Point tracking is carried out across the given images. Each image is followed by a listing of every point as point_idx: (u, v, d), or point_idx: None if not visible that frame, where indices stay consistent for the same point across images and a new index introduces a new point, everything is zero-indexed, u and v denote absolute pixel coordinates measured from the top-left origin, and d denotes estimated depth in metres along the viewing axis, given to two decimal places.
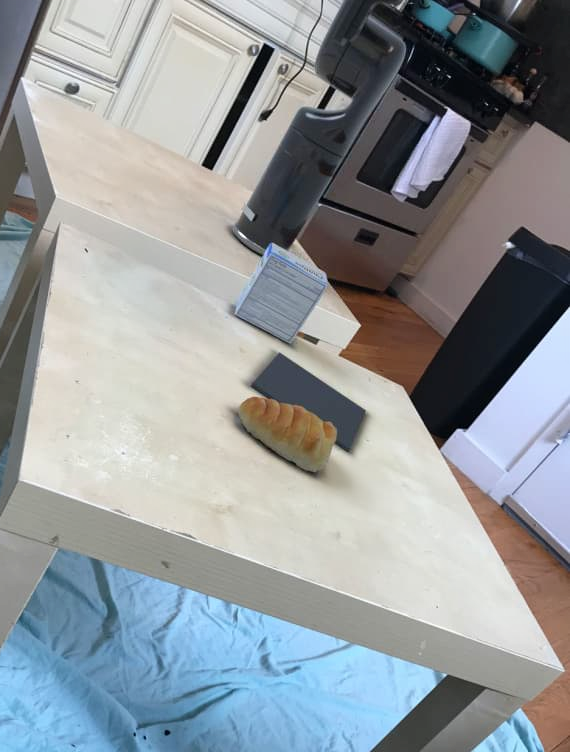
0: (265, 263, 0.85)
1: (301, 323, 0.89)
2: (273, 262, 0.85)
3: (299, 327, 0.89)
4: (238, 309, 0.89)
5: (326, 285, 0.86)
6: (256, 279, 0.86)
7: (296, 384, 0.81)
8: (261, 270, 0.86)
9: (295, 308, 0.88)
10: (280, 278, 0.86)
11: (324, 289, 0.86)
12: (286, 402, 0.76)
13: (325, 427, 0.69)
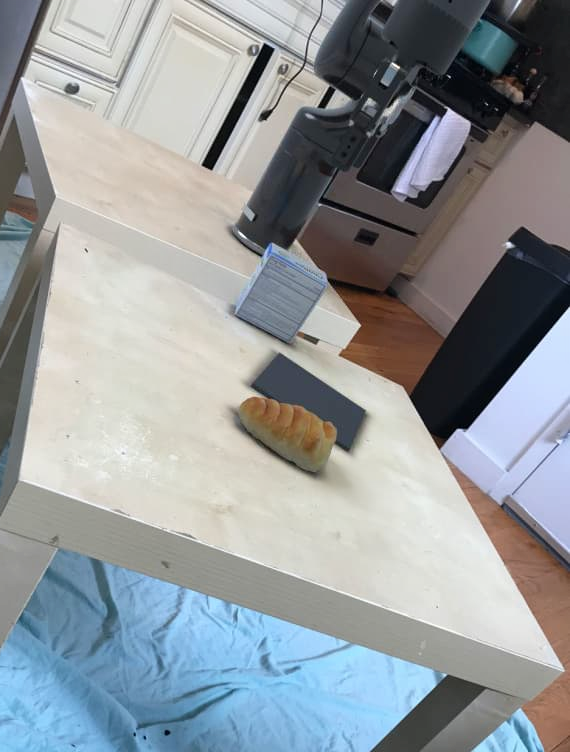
0: (265, 263, 0.85)
1: (301, 323, 0.89)
2: (273, 262, 0.85)
3: (299, 327, 0.89)
4: (238, 309, 0.89)
5: (326, 285, 0.86)
6: (256, 279, 0.86)
7: (296, 384, 0.81)
8: (261, 270, 0.86)
9: (295, 308, 0.88)
10: (280, 278, 0.86)
11: (324, 289, 0.86)
12: (286, 402, 0.76)
13: (325, 427, 0.69)
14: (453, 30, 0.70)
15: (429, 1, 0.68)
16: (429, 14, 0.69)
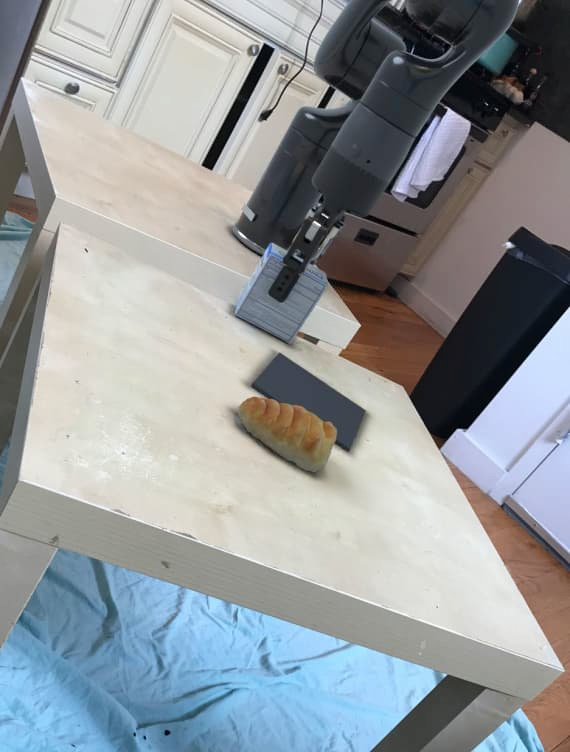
0: (265, 263, 0.85)
1: (301, 323, 0.89)
2: (273, 262, 0.85)
3: (299, 327, 0.89)
4: (238, 309, 0.89)
5: (326, 285, 0.86)
6: (256, 279, 0.86)
7: (296, 384, 0.81)
8: (261, 270, 0.86)
9: (295, 308, 0.88)
10: None
11: (324, 289, 0.86)
12: (286, 402, 0.76)
13: (325, 427, 0.69)
14: (372, 184, 0.79)
15: (350, 161, 0.77)
16: (350, 171, 0.78)
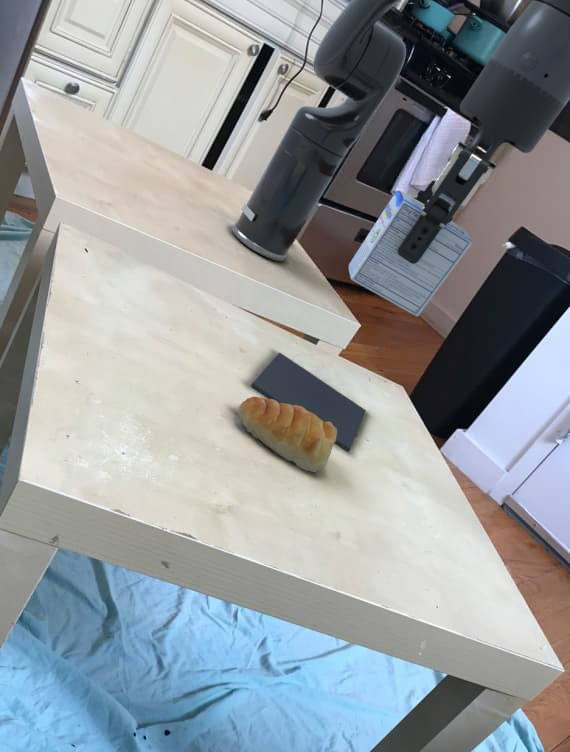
0: (396, 213, 0.68)
1: (434, 290, 0.72)
2: (406, 212, 0.68)
3: (431, 295, 0.72)
4: (356, 273, 0.71)
5: (470, 242, 0.69)
6: (382, 234, 0.69)
7: (296, 384, 0.81)
8: (390, 222, 0.68)
9: (428, 271, 0.71)
10: None
11: (467, 247, 0.69)
12: (286, 402, 0.76)
13: (325, 427, 0.69)
14: (547, 107, 0.61)
15: (521, 75, 0.60)
16: (521, 90, 0.61)
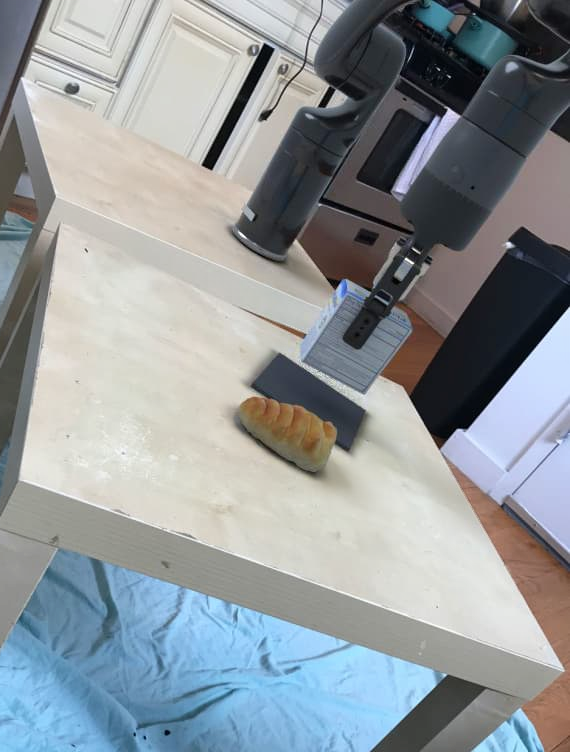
0: (340, 304, 0.73)
1: (378, 372, 0.76)
2: (349, 303, 0.72)
3: (376, 376, 0.77)
4: (305, 356, 0.76)
5: (410, 329, 0.74)
6: (328, 322, 0.74)
7: (296, 384, 0.81)
8: (335, 312, 0.73)
9: (373, 355, 0.75)
10: None
11: (408, 334, 0.74)
12: (286, 402, 0.76)
13: (325, 427, 0.69)
14: (475, 214, 0.66)
15: (450, 186, 0.65)
16: (450, 199, 0.65)
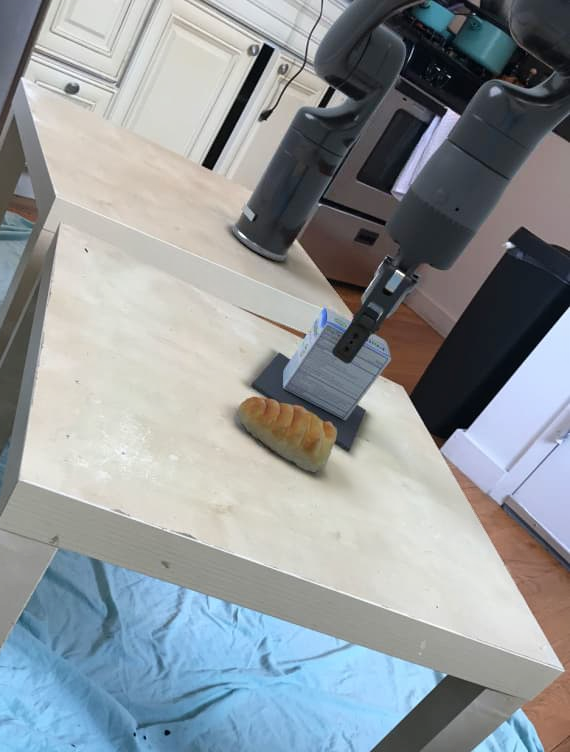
0: (320, 333, 0.74)
1: (358, 399, 0.78)
2: (329, 333, 0.74)
3: (356, 403, 0.78)
4: (287, 383, 0.78)
5: (389, 358, 0.75)
6: (309, 351, 0.76)
7: None
8: (315, 341, 0.75)
9: (353, 382, 0.77)
10: None
11: (387, 362, 0.76)
12: (286, 402, 0.76)
13: (325, 427, 0.69)
14: (460, 235, 0.67)
15: (435, 208, 0.66)
16: (435, 220, 0.66)
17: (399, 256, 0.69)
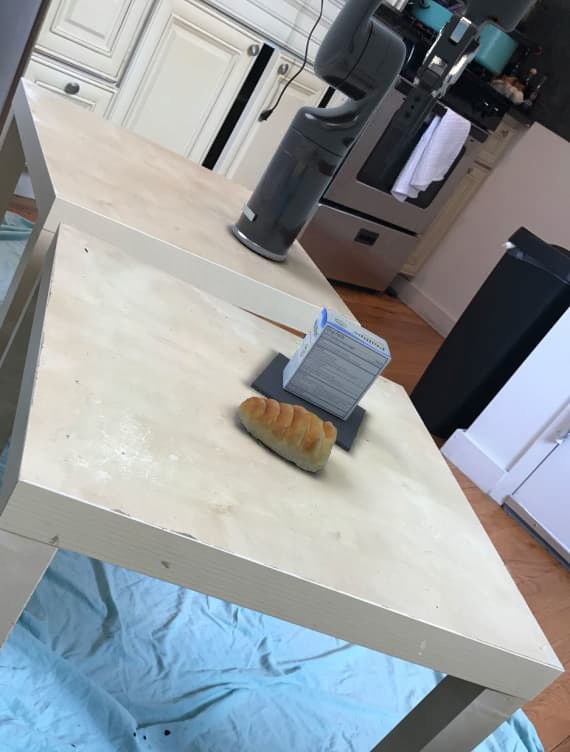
0: (320, 333, 0.74)
1: (358, 399, 0.78)
2: (329, 333, 0.74)
3: (356, 403, 0.78)
4: (287, 383, 0.78)
5: (389, 358, 0.75)
6: (309, 351, 0.76)
7: None
8: (315, 341, 0.75)
9: (353, 382, 0.77)
10: (337, 350, 0.75)
11: (387, 362, 0.76)
12: (286, 402, 0.76)
13: (325, 427, 0.69)
14: None
15: None
16: None
17: (464, 10, 0.69)
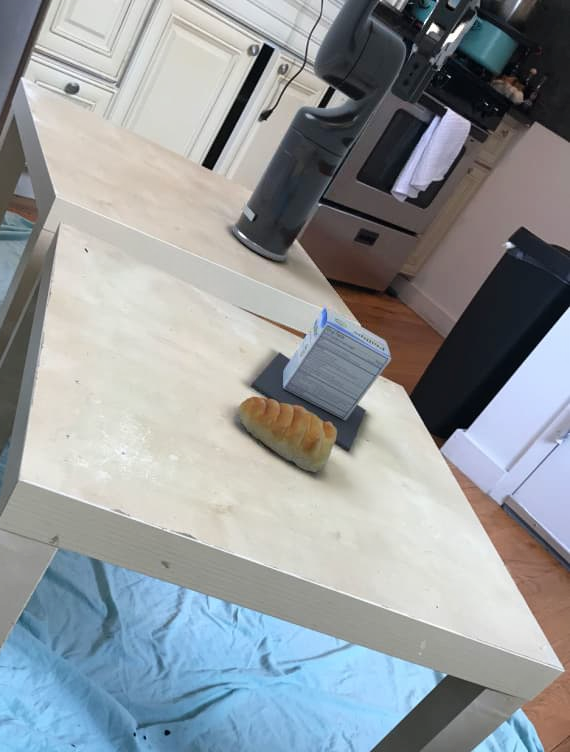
0: (320, 333, 0.74)
1: (358, 399, 0.78)
2: (329, 333, 0.74)
3: (356, 403, 0.78)
4: (287, 383, 0.78)
5: (389, 358, 0.75)
6: (309, 351, 0.76)
7: None
8: (315, 341, 0.75)
9: (353, 382, 0.77)
10: (336, 350, 0.75)
11: (387, 362, 0.76)
12: (286, 402, 0.76)
13: (325, 427, 0.69)
14: None
15: None
16: None
17: None
